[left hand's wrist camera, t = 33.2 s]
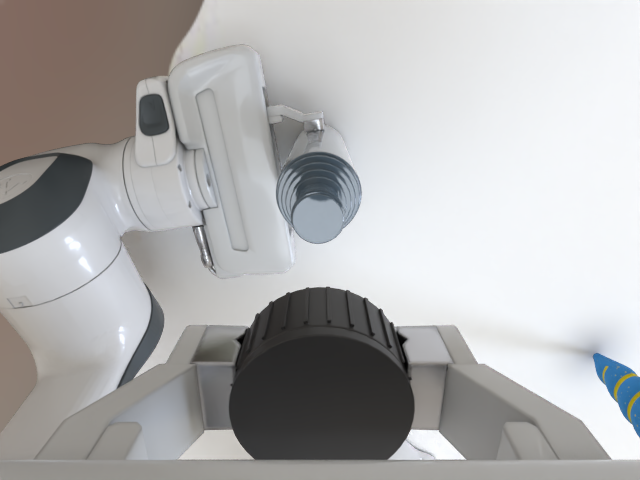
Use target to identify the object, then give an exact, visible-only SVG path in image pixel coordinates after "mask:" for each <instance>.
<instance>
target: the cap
mask: <svg viewBox="0 0 640 480" xmlns="http://www.w3.org/2000/svg"><path fill="white" fill-rule="evenodd" d="M404 363H405V361H404V357H403V354H402V348H401V347H400V344H399V341H398V337H397V334H396V331H395V328H394V324H393V323H392V322H391V323H390V322H389V320H388V319H387V318H386V316H385V315H384V313H383V310H382V309H381V308H380V309H378V308H377V307H376V306H375V305H373V304H372V303H371V302H369V301H368V299H367V298H362V297H360V296H359V295H356V294H354V293H351V292H350V291H348V290H346V291H344V290H341V289H335V288H330V287H326V288H322V287H317V288H309V287H308V288H306V289H303V290H298V291H295V292H292V293H290V292H289V293H286V295H285V296H283V297H281V298H279V299H277V300H275V301H274V302H272V301H271V302H270V303H269V305H268V306H267V307H266V308H265V309H264V310H263V311H262V312H261V313H260V314H258V313H257V314H256V316H255V320H254V322H253V323H252V325H251V327H250V328H247V331H246V334H245V337H244V340H243V343H242V347H241V351H240V354H239V357H238V361H237V364H236V367H235V369H237V372H236V375H235V379H234V382H233V384H230V386H232V389H231V393H230V396H229V406H228V408H229V418H230V422H231V426H232V429H233V431H234V434H235V436H236V437H237V439H238V441H239V442H240V444H241V445H242V446H243V448H244V449H245V450H246V451H247V452H248V453H249V454H250V455H251V456H252V457H253V458H254V459H255V460H388V459H389V458H390V457H391V456H392V455H394V454H395V453H396V451H397V450H398V449H399V448H400V447H401V446H402V444H403V443H404V441H405V440H406V438H407V436H408V434H409V432H410V430H411V426H412V423H413V420H414V412H415V402H414V396H413V391H412V387H411V384H410V380H412V378H411V377H408V375H407V372H406V368H405V365H404Z"/></svg>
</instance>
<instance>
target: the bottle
mask: <svg viewBox="0 0 640 480" xmlns="http://www.w3.org/2000/svg"><path fill="white" fill-rule="evenodd" d="M361 195H362V191H361V184H360V181H359V178H358V175H357V173H356V170H355V168H354V165H353V163H352V160H351V158H350V155H349V153H348V150H347V147H346V145H345V142H344V140H343V138H342V136H341V135H340V133H339V132H338V131H337V130H336V129H334V128H333V127H331V126H328V125H325V129H324V130H315V129H314V130H313V131H311V132H305V130H303V131H302V132H301V133H300V134H299V136H298V137H297V139H296V142H295V144H294V146H293V148H292V150H291V152H290V154H289V157H288V159H287V161H286V163H285V165H284V167H283V169H282V172H281V174H280V176H279V178H278V181H277V185H276V201H277V205H278V208H279V210H280V212H281V214H282V216H283V217H284V219H285V220H286V221H287V222H288V224H290V225H291V226H292V227H293V228H294V230H295V231H296V233H297V234H298V235H299V236H300V237H301V238H302V239H304V240H305V241H307V242H310V243H315V244H321V243H326V242H329V241H331V240H332V239H334V238H336V237H337V236H338V235H339V234H340V233H341V231H342V229H343V228H344V227H346V226H347V225H348V224H349V223H350V222H351V220H352V219H353V218H354V216H355V215H356V213H357V211H358V209H359V206H360V203H361Z"/></svg>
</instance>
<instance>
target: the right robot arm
mask: <svg viewBox="0 0 640 480" xmlns="http://www.w3.org/2000/svg"><path fill="white" fill-rule="evenodd" d="M284 116H286V117H288V118H291V119H294V120H296V121H299V122H301V123H303V124H304V130H305V132H311V131H313V130H314V129H315V130H324V129H325V124H324V117H323V111H319V112H313V113H306V114H303V113H302V112H300V111H297V110H295V109H292V108H290V107H288V106H285V105H283V104H280V105H274V106H269V101H268V96H267V90H266V85H265V79H264V74H263V68H262V63H261V58H260V55H259V53H257V52H256V51H255V50H254V49H252V48H251V47H249V46H248V45H243V44H240V45H234V46H229V47H224V48H220V49H216V50H213V51H209V52H206V53H203V54H200V55H197V56H194V57H192V58H189V59H187V60H185V61H183V62H181V63H179V64H178V65H177V66H176V67H175V68H174V69H173V70H172V71H171V73H170V75H169V76H156V77H150V78H146V79H144V80H141V81H140V82H139V83H138V85H137V89H136V135H135V136H131V137H128V138H125V139H123V140H122V141H120V142H117V143H114V144H97V143H85V144H79V145H74V146H68V147H63V148H59V149H54V150H50V151H46V152H42V153H38V154H35V155H32V156H29V157H25V158H21V159H18V160H14V161H12V162H9V163H7V164H4V165H2V166H0V312H1V314H2V315H3V316H4V317H5V318H6V320H7V321H8V322H9V323H10V324H11V326H12V327H13V328H14V329H15V331H16V332H17V333H18V334H19V335H20V337H21V338H22V339H23V340H24V341H25V343H26V344H27V346H28V347H29V349H30V351H31V353H32V356H33V358H34V361H35V364H36V369H37V383H36V385H35V387H34V388H33V390H32V391H31V392H30V394H29V395H28V397H27V398H26V399H25V401H24V402H23V403H22V405H21V406H20V407H19V409H18V410H17V412H16V413H15V414H14V415H13V417H12V418H11V420H10V421H9V422H8V424H7V425H6V426H5V428H4V429H3V430H2V432H1V433H0V460H33V459H34V458H35V456H36V455H37V454H38V453H39V451H40V450H41V449H42V447H43V446H44V445H45V443H46V442H47V441H48V440H49V438H50V437H51V436H52V434H53V433H54V432H55V431H56V429H57V428H58V427H59V425H60V424H61V423H62V421H63V420H65V419H66V418H68V417H70V416H71V415H73V414H75V413H77V412H78V411H80V410H82V409H83V408H85V407H87V406H88V405H90V404H92V403H94V402H95V401H97V400H99V399H100V398H102V397H104V396H106V395H107V394H109V393H111V392H112V391H114V390H116V389H117V388H119V387H121V386H123V385H124V384H126V383H128V382H129V381H131V380H133V378H134V377H135V375H136V374H137V373H138V371H139V370H140V369H141V367H142V366H143V365H144V363H145V362H146V361H147V359H148V358H149V357H150V355H151V354H152V352H153V351H154V349H155V347H156V345H157V344H158V342H159V339H160V337H161V335H162V332H163V328H164V314H163V311H162V309H161V307H160V305H159V304H158V302H157V301H156V299H155V298H154V296H153V295H152V293H151V292H150V290H149V288H148V287H147V286H146V284H145V283H144V282H143V280H142V278H141V277H140V275H139V273H138V271H137V269H136V267H135V265H134V263H133V261H132V259H131V257H130V255H129V254H128V252H127V250H126V248H125V246H124V244H123V242H122V240H121V238H120V237H122V235H123V234H124V233H126V232H129V231H136V230H138V231H145V232H157V231H164V230H171V229H178V228H185V227H193V231H194V235H195V238H196V241H197V244H198V246H199V249H200V252H201V260H202V263H203V265H204V267H205V268H208V269H209V270H210V272H211V273H212V274H213V275H215V276H217V277H218V278H221V279H226V278H234V277H239V276H242V275H244V274H248V275H262V274H279V273H285V272H287V271H288V270H289V269H290V268H291V267H292V266H293V265H294V263H295V259H296V248H295V243H294V237H293V232H292V226H291V225H290V224H288V222H287V221H286V220H285V219H284V217H283V216H282V214H281V212H280V210H279V208H278V205H277V201H276V185H277V181H278V178H279V176H280V174H281V166H280V161H279V156H278V150H277V145H276V139H275V134H274V128H273V124H274V123H280V122H282V121H283V120H284ZM213 266H214V268H215V270H214V269H213ZM388 460H435V458H434V457H433V456H431V455H429V454H427V453H424V452H422V451H419V450H417V449H415V448H414V447H413V446H412V445H411V444H409V443H408V442H407V441H406V440H405V441H404V443H403V444H402V446H401V447H400V448H399V449H398V450H397V451H396V453H395V454H394V455H392V456H391V457H390V458H389V459H388Z"/></svg>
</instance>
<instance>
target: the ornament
mask: <svg viewBox="0 0 640 480" xmlns="http://www.w3.org/2000/svg"><path fill="white" fill-rule="evenodd" d="M593 359H594V362H595V367H596V372H597V375H598V377H599V379H600V380H601V381H602V382H603V383H604V384H605V385H606V387H607V389H608V391H609V393H610V395H611V396H612V398H613V399H614V400H615V401H616V402H617V403H618V404H619V407H620V410H621V412H622V413H623V415H624V417H625V418H626V419H627V420H628V421H629V422H630V423H631V424H633V427H634V429H635V431H636V433H637V435H638V436H639V437H640V377H638V376H637V374H636V373H635V372H634V371H633V370H632V369H630V368H628V367H627V366H625V365H622V364H620V363H618V362H616V361H614V360H611V359H609V358H607V357H605V356H603V355H601V354H598V353H596V354H594V355H593Z"/></svg>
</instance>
